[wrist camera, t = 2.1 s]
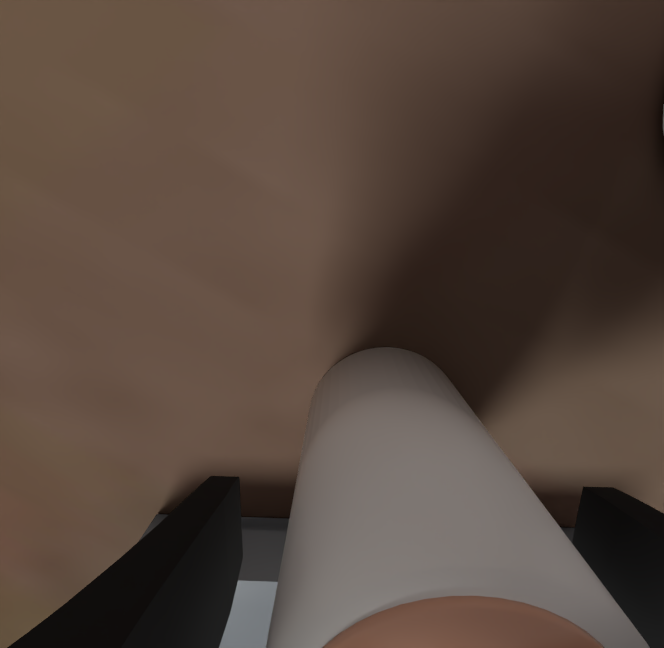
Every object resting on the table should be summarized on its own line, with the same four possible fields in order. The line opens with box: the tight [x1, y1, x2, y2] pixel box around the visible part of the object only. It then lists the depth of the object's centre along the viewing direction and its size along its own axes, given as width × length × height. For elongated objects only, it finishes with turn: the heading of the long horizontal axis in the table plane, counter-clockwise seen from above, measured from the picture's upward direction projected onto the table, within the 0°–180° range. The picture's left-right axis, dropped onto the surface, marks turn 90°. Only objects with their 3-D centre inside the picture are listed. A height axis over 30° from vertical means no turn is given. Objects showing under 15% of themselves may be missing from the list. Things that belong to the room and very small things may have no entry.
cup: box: [266, 347, 650, 648], centre depth 8 cm, size 5×5×8 cm
